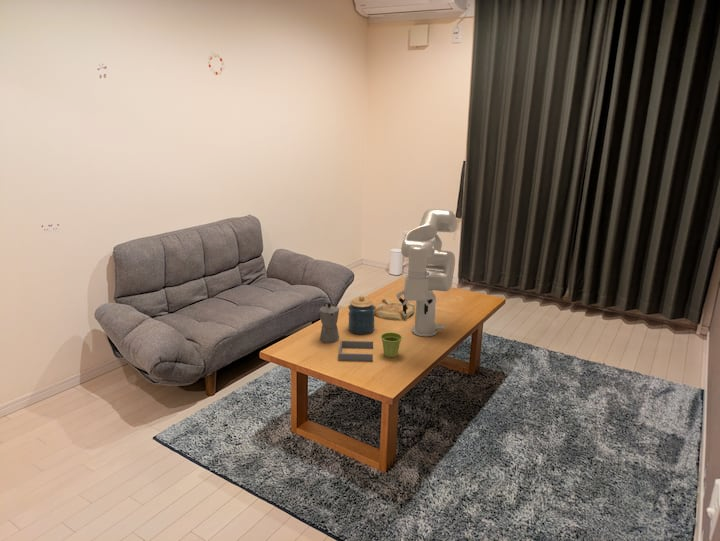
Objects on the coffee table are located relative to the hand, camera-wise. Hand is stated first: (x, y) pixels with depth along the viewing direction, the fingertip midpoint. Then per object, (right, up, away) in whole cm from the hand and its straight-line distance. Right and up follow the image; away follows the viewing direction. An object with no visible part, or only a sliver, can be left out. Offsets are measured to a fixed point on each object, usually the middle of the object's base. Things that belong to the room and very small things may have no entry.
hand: (415, 312), depth 222 cm
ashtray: (-5, -5, +55) cm, 55 cm away
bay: (-25, -19, +7) cm, 32 cm away
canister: (-23, -11, +33) cm, 41 cm away
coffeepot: (-38, -14, +22) cm, 47 cm away
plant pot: (-10, -19, +6) cm, 23 cm away
